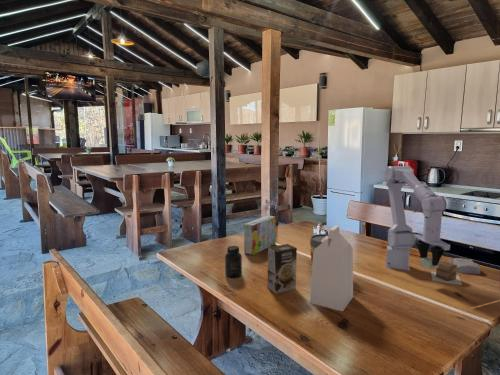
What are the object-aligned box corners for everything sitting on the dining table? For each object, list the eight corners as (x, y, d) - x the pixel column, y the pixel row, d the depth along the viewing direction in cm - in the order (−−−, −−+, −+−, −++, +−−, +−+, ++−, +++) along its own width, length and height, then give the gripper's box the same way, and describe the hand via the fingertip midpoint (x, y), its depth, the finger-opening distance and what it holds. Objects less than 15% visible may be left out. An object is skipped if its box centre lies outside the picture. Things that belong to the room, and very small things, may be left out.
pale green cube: (429, 269, 130) (430, 262, 130) (419, 265, 134) (420, 258, 134) (438, 268, 132) (438, 260, 131) (428, 264, 136) (428, 256, 136)
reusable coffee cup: (345, 272, 146) (346, 238, 144) (329, 281, 137) (331, 245, 135) (319, 264, 155) (320, 232, 153) (303, 273, 146) (304, 238, 144)
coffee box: (275, 294, 127) (276, 251, 124) (267, 287, 132) (267, 246, 130) (296, 289, 131) (297, 247, 128) (287, 282, 137) (287, 243, 134)
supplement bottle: (244, 273, 145) (244, 246, 143) (237, 280, 139) (236, 251, 137) (230, 271, 148) (229, 244, 146) (222, 277, 142) (221, 248, 140)
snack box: (267, 242, 187) (267, 215, 185) (276, 244, 184) (276, 216, 182) (243, 253, 170) (243, 223, 168) (252, 255, 167) (252, 225, 165)
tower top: (447, 274, 136) (448, 266, 135) (436, 269, 140) (437, 262, 140) (456, 272, 138) (457, 264, 137) (445, 267, 142) (445, 260, 142)
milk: (342, 311, 114) (345, 234, 111) (309, 302, 121) (311, 229, 117) (353, 297, 125) (356, 226, 121) (322, 289, 131) (324, 221, 127)
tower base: (446, 281, 136) (447, 274, 136) (435, 276, 141) (436, 269, 140) (456, 279, 138) (456, 272, 138) (444, 274, 143) (445, 267, 142)
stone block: (456, 278, 145) (483, 275, 143) (455, 267, 144) (481, 264, 142) (446, 268, 156) (471, 266, 154) (445, 258, 156) (469, 255, 154)
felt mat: (432, 281, 137) (432, 280, 137) (430, 272, 146) (430, 271, 146) (462, 286, 133) (462, 284, 133) (458, 276, 142) (458, 275, 142)
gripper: (457, 232, 126) (454, 267, 128) (424, 222, 139) (421, 255, 141) (443, 234, 123) (440, 270, 125) (410, 224, 136) (408, 257, 138)
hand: (429, 262), depth 133 cm, fingers closed on pale green cube, 4 cm apart
